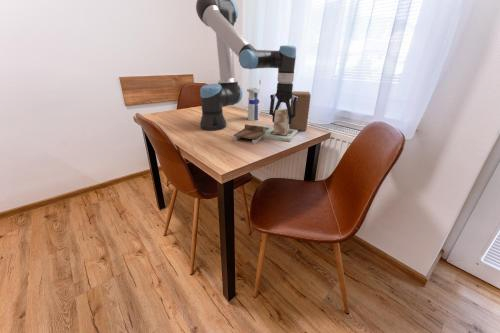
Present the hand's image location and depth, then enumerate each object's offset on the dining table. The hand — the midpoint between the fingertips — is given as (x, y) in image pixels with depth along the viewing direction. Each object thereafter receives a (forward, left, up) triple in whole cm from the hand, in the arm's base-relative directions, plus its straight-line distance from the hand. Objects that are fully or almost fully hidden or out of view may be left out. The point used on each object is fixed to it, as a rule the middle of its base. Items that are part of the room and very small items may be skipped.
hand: (281, 129), depth 115 cm
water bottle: (-27, +25, -3) cm, 37 cm away
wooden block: (+5, +16, -3) cm, 17 cm away
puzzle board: (-6, -5, -3) cm, 9 cm away
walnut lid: (-13, -11, -1) cm, 17 cm away
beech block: (0, 0, -2) cm, 2 cm away
